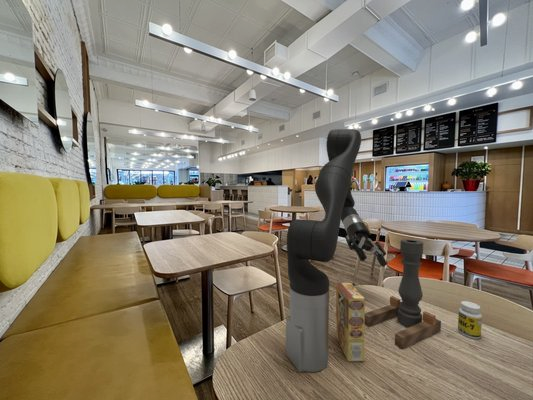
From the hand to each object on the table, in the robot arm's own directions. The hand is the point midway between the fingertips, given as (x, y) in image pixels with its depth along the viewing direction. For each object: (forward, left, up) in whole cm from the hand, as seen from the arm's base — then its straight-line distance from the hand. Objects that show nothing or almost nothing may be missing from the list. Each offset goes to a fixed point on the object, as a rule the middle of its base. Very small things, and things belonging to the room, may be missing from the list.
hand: (374, 262), depth 72 cm
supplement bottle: (+14, -19, -17) cm, 29 cm away
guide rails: (0, -9, -16) cm, 19 cm away
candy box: (-21, -9, -17) cm, 28 cm away
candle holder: (+4, -9, -17) cm, 19 cm away
